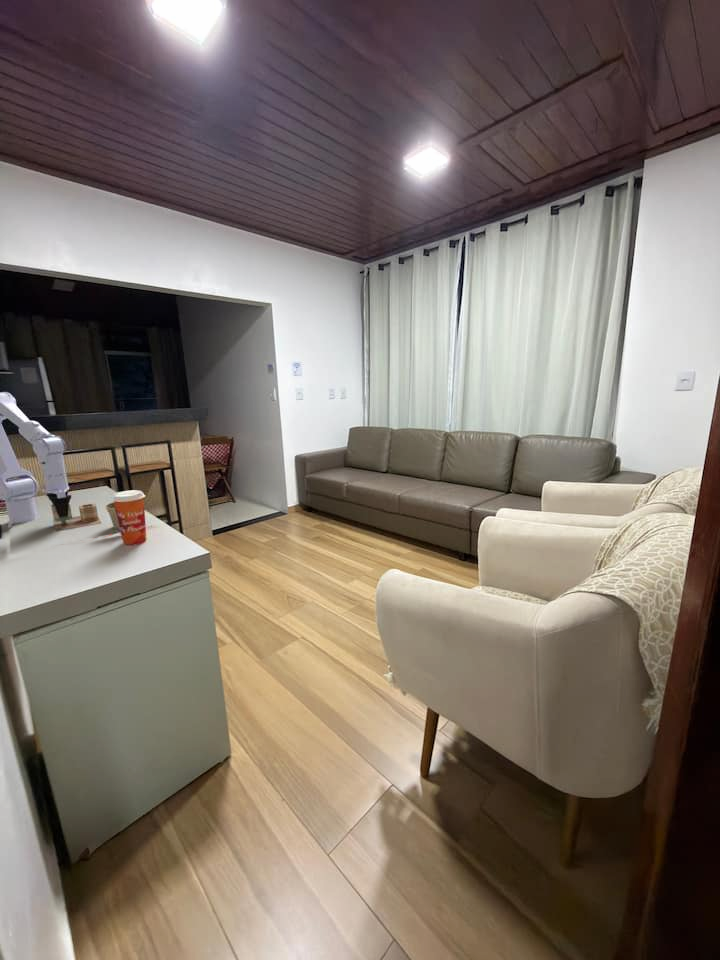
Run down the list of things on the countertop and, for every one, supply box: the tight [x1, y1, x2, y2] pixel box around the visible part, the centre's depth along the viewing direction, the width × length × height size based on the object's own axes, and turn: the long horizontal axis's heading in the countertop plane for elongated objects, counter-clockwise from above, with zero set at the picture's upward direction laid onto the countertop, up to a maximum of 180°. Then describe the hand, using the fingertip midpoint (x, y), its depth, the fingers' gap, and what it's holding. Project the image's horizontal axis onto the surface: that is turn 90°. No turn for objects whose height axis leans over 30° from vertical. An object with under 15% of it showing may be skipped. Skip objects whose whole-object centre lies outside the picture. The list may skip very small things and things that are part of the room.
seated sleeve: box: [78, 502, 99, 522], centre depth 128 cm, size 4×4×5 cm
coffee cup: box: [111, 489, 147, 546], centre depth 111 cm, size 8×8×15 cm
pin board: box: [53, 515, 102, 533], centre depth 126 cm, size 14×12×5 cm
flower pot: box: [104, 501, 121, 533], centre depth 122 cm, size 9×9×9 cm
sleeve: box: [50, 503, 73, 522], centre depth 123 cm, size 4×4×5 cm
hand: (62, 514), depth 123 cm, fingers closed on sleeve, 4 cm apart
